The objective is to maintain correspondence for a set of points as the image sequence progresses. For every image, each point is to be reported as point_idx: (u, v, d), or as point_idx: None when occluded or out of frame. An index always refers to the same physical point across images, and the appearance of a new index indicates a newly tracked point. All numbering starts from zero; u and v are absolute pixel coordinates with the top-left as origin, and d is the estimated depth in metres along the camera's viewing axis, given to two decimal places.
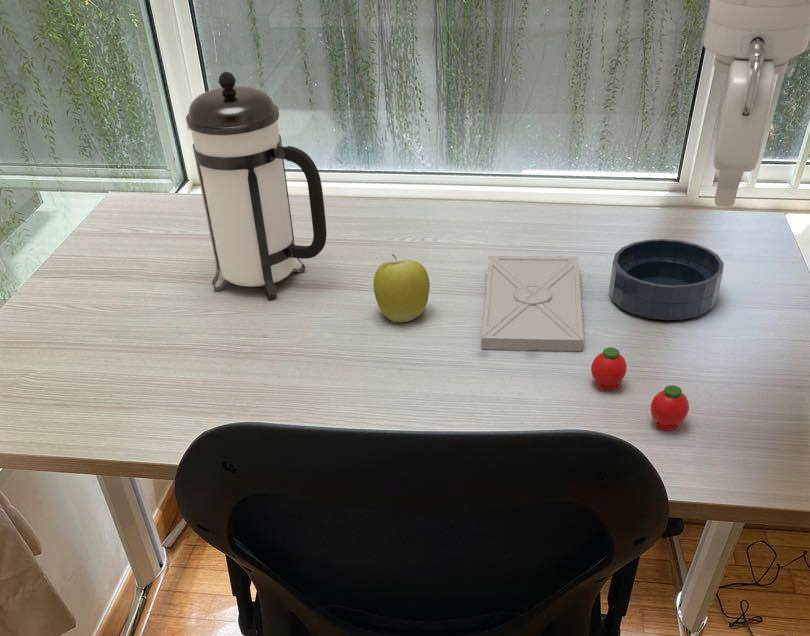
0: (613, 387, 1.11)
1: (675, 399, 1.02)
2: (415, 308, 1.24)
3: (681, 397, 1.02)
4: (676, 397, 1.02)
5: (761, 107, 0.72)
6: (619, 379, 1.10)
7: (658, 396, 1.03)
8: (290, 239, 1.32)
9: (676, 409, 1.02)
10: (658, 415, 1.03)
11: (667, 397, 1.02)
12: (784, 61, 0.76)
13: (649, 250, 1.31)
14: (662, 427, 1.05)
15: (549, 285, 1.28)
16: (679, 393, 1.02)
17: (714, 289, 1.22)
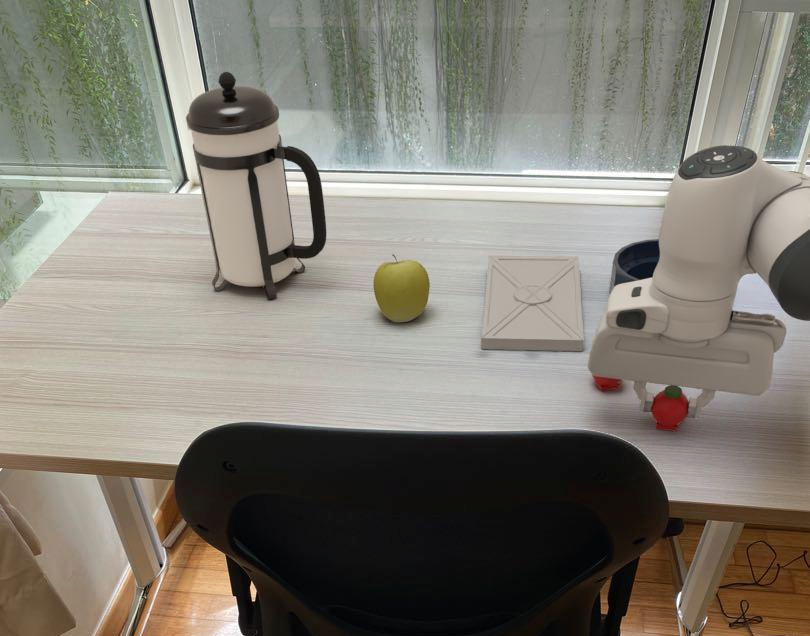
0: (613, 387, 1.11)
1: (675, 399, 1.02)
2: (415, 308, 1.24)
3: (681, 397, 1.02)
4: (676, 397, 1.02)
5: None
6: (619, 379, 1.10)
7: (658, 396, 1.03)
8: (290, 239, 1.32)
9: (676, 409, 1.02)
10: (658, 415, 1.03)
11: (668, 397, 1.02)
12: None
13: (649, 250, 1.31)
14: (662, 427, 1.05)
15: (549, 285, 1.28)
16: (679, 393, 1.02)
17: None
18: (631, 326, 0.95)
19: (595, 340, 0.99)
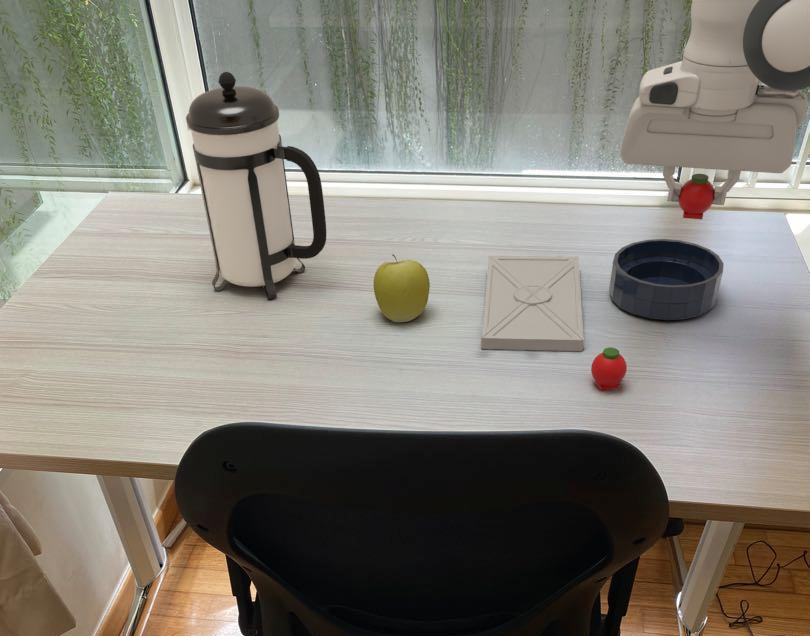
0: (613, 387, 1.11)
1: (702, 184, 1.09)
2: (415, 308, 1.24)
3: (707, 183, 1.09)
4: (703, 182, 1.08)
5: None
6: (619, 379, 1.10)
7: (686, 184, 1.10)
8: (290, 239, 1.32)
9: (703, 194, 1.08)
10: (686, 202, 1.10)
11: (695, 183, 1.09)
12: None
13: (649, 250, 1.31)
14: (689, 216, 1.11)
15: (549, 285, 1.28)
16: (706, 179, 1.08)
17: (714, 289, 1.22)
18: (663, 101, 1.02)
19: (628, 122, 1.05)
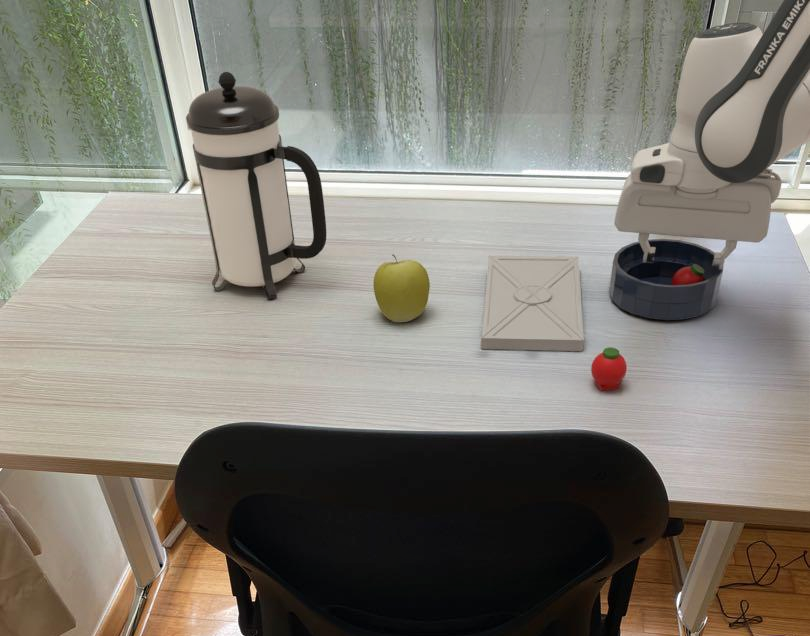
0: (613, 387, 1.11)
1: (698, 276, 1.23)
2: (415, 308, 1.24)
3: (701, 277, 1.23)
4: (699, 275, 1.23)
5: None
6: (619, 379, 1.10)
7: (685, 269, 1.23)
8: (290, 239, 1.32)
9: None
10: None
11: (693, 272, 1.23)
12: None
13: None
14: None
15: (549, 285, 1.28)
16: (702, 273, 1.23)
17: (714, 289, 1.22)
18: (652, 180, 1.14)
19: (621, 196, 1.18)
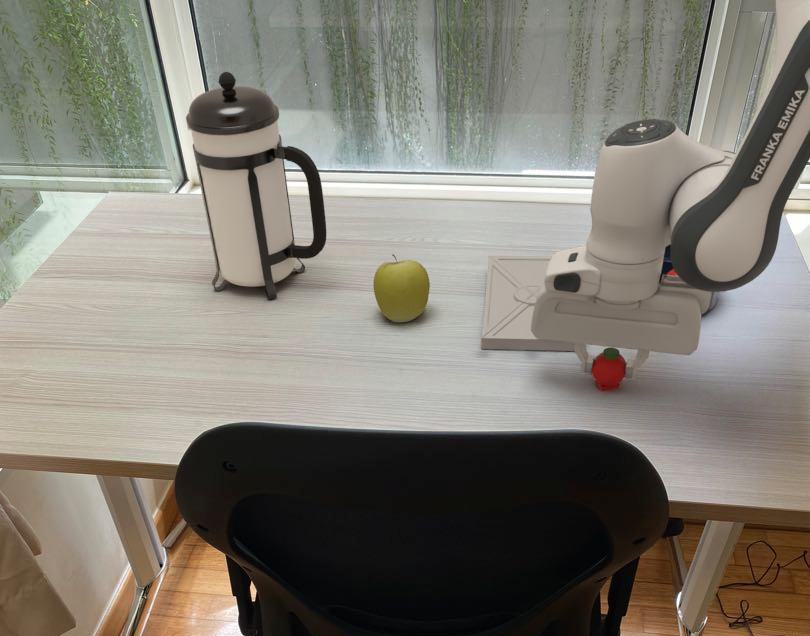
0: (614, 387, 1.11)
1: None
2: (415, 308, 1.24)
3: None
4: None
5: None
6: (619, 379, 1.10)
7: (669, 273, 1.25)
8: (290, 239, 1.32)
9: None
10: None
11: None
12: None
13: None
14: None
15: None
16: None
17: None
18: (567, 289, 1.02)
19: (536, 303, 1.05)
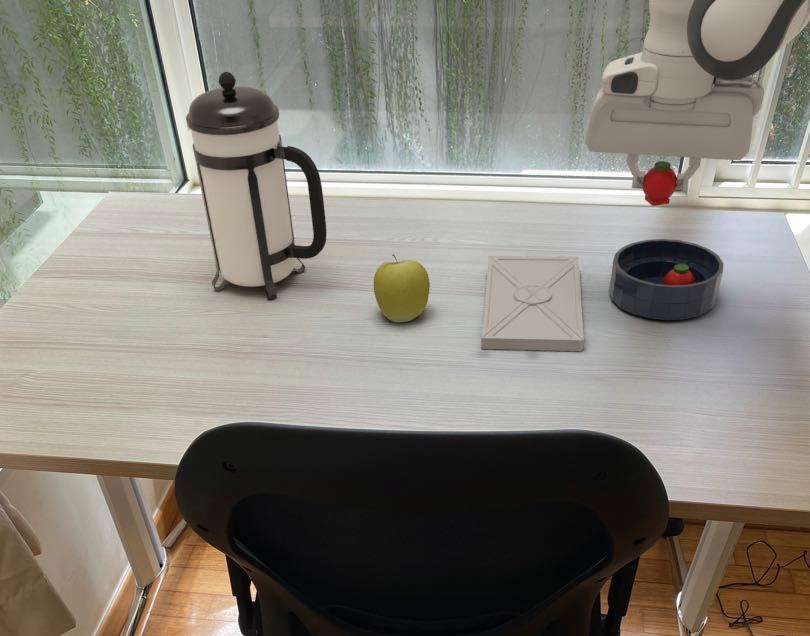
0: (664, 202, 1.15)
1: (683, 274, 1.23)
2: (415, 308, 1.24)
3: (688, 273, 1.24)
4: (684, 273, 1.23)
5: None
6: (670, 192, 1.13)
7: (669, 273, 1.25)
8: (290, 239, 1.32)
9: (684, 282, 1.23)
10: None
11: (677, 273, 1.24)
12: None
13: (649, 250, 1.31)
14: None
15: (549, 285, 1.28)
16: (686, 269, 1.23)
17: (714, 289, 1.22)
18: (624, 91, 1.05)
19: (592, 111, 1.09)
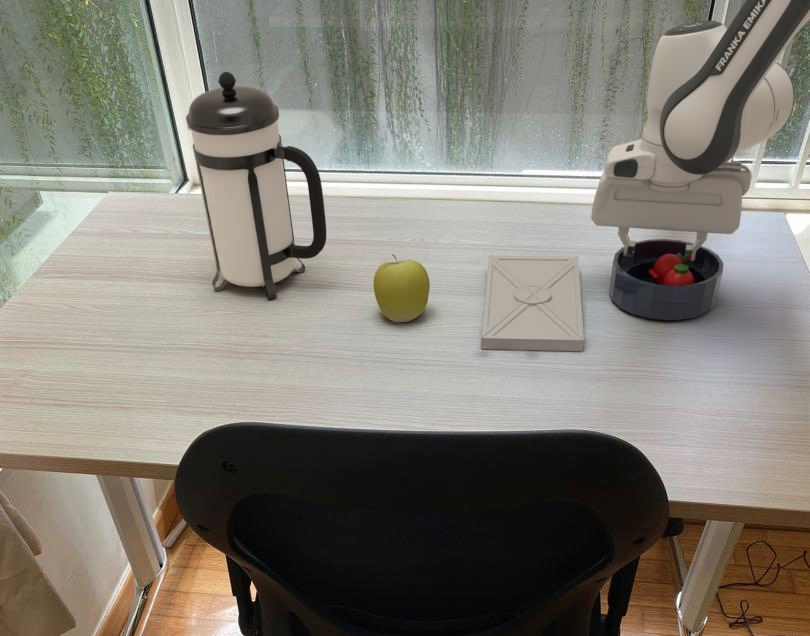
0: None
1: (683, 274, 1.23)
2: (415, 308, 1.24)
3: (688, 273, 1.24)
4: (684, 273, 1.23)
5: None
6: None
7: (669, 273, 1.25)
8: (290, 239, 1.32)
9: (684, 282, 1.23)
10: None
11: (677, 273, 1.24)
12: None
13: (649, 250, 1.31)
14: None
15: (549, 285, 1.28)
16: (686, 269, 1.23)
17: (714, 289, 1.22)
18: (626, 175, 1.17)
19: (597, 191, 1.21)
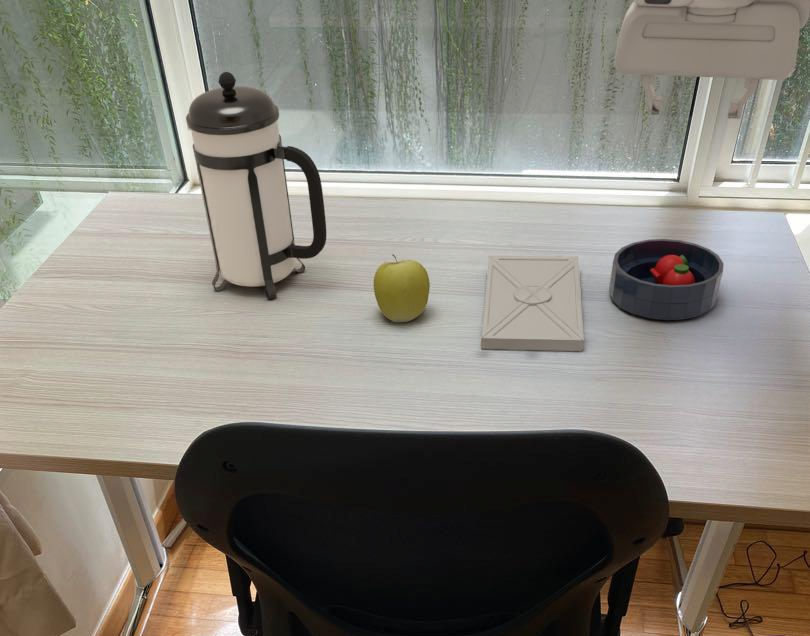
0: None
1: (683, 274, 1.23)
2: (415, 308, 1.24)
3: (688, 273, 1.24)
4: (684, 273, 1.23)
5: None
6: None
7: (669, 273, 1.25)
8: (290, 239, 1.32)
9: (684, 282, 1.23)
10: None
11: (677, 273, 1.24)
12: None
13: (649, 250, 1.31)
14: None
15: (549, 285, 1.28)
16: (686, 269, 1.23)
17: (714, 289, 1.22)
18: (659, 1, 0.96)
19: (622, 26, 1.00)
